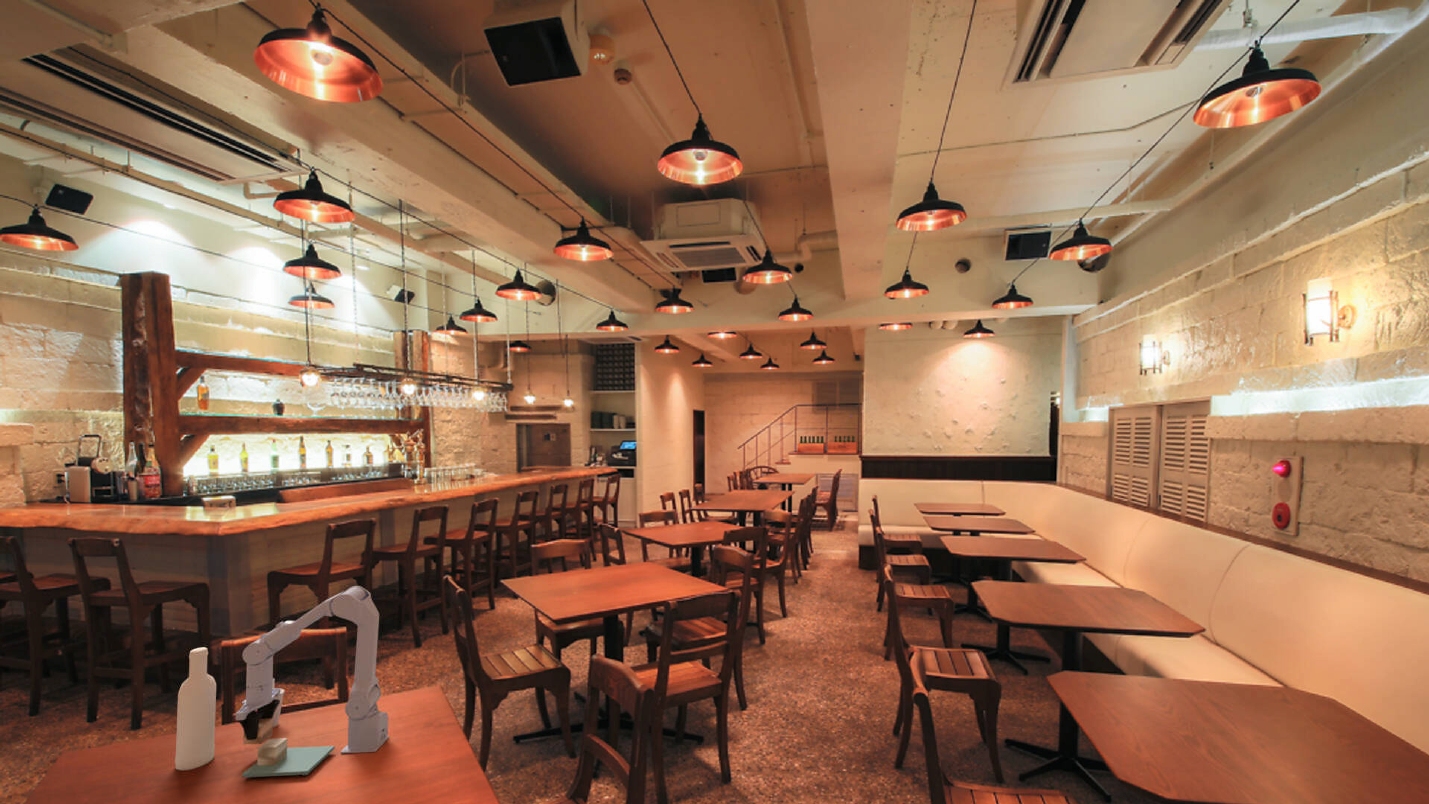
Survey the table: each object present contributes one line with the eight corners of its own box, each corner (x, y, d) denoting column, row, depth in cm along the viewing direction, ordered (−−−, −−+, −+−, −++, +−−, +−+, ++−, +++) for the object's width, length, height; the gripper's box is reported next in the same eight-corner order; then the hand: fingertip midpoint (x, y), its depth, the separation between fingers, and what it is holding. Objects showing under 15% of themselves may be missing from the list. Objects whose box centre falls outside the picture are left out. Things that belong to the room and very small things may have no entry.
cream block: (286, 755, 157) (287, 738, 157) (275, 764, 153) (275, 747, 153) (269, 755, 157) (269, 738, 157) (257, 765, 152) (258, 747, 153)
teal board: (334, 752, 162) (334, 745, 162) (307, 778, 150) (307, 771, 150) (273, 755, 161) (274, 748, 161) (241, 781, 149) (242, 774, 149)
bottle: (213, 764, 156) (216, 650, 158) (173, 774, 152) (177, 657, 153) (215, 751, 163) (218, 641, 164) (177, 761, 158) (181, 648, 159)
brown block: (272, 735, 162) (272, 718, 163) (260, 743, 158) (261, 726, 158) (255, 735, 162) (255, 719, 162) (243, 744, 158) (243, 727, 158)
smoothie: (269, 732, 173) (270, 684, 173) (251, 730, 174) (253, 682, 175) (289, 721, 179) (290, 675, 180) (271, 719, 180) (273, 673, 181)
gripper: (262, 673, 168) (261, 721, 167) (224, 696, 153) (222, 749, 153) (288, 672, 168) (287, 720, 167) (252, 695, 154) (250, 748, 153)
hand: (258, 734), depth 160 cm, fingers closed on brown block, 4 cm apart
